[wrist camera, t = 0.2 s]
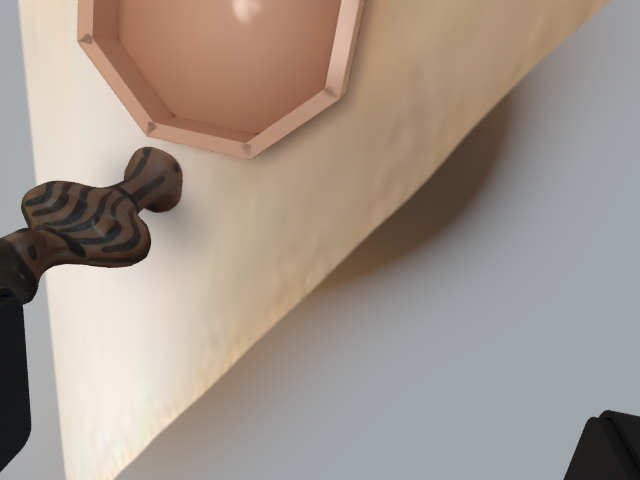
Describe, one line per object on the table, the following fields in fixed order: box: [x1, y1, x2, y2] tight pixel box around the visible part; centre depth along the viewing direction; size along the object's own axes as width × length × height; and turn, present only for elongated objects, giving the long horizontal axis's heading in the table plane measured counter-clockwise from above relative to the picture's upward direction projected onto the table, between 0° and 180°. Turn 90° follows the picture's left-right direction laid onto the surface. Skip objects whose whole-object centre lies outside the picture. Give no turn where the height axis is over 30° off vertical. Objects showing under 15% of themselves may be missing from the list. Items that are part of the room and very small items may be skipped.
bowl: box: [77, 0, 365, 160], centre depth 34 cm, size 17×17×4 cm
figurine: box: [0, 147, 182, 305], centre depth 33 cm, size 7×5×18 cm
